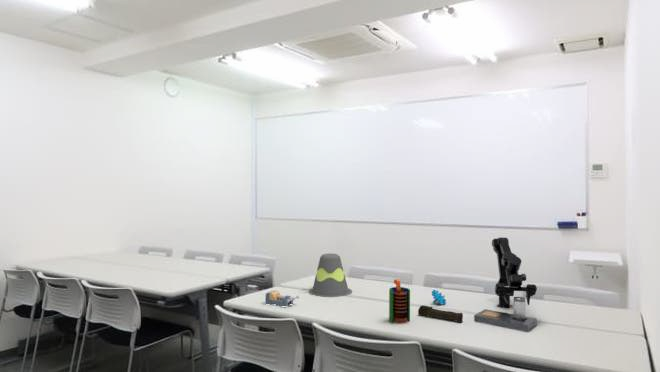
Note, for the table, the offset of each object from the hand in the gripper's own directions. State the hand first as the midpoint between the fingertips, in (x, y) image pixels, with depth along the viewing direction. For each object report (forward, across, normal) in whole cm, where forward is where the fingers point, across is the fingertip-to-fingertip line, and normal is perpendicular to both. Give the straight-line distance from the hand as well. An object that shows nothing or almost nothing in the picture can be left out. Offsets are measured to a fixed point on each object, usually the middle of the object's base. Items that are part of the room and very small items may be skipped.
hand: (518, 304), depth 207 cm
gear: (-16, -35, +29) cm, 48 cm away
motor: (+10, -57, +4) cm, 58 cm away
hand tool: (+6, -37, +8) cm, 38 cm away
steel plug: (+8, 0, +5) cm, 10 cm away
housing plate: (+6, -6, +7) cm, 11 cm away
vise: (-3, -124, +17) cm, 125 cm away
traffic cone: (-28, -102, +41) cm, 114 cm away
